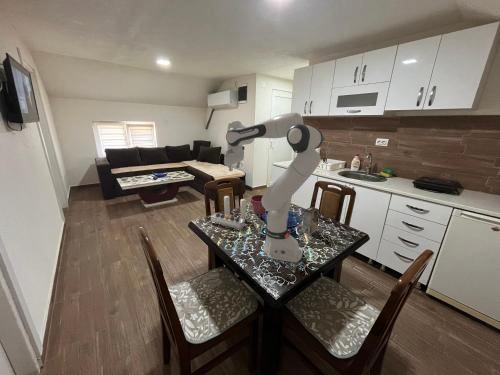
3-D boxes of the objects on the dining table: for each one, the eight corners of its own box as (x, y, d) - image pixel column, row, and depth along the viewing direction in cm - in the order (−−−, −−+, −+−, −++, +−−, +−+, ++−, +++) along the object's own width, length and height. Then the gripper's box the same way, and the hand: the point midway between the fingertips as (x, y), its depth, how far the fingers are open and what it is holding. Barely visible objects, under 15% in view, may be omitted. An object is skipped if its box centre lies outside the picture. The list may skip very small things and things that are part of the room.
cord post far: (231, 215, 164) (230, 196, 159) (228, 217, 161) (227, 198, 155) (226, 214, 166) (225, 195, 161) (223, 216, 162) (222, 197, 157)
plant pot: (256, 217, 161) (256, 202, 157) (247, 211, 172) (247, 196, 168) (271, 214, 167) (272, 199, 163) (262, 207, 179) (262, 193, 175)
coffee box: (309, 227, 148) (311, 206, 143) (317, 230, 143) (319, 209, 138) (301, 231, 142) (303, 209, 137) (309, 235, 137) (312, 213, 132)
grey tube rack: (245, 225, 149) (245, 217, 147) (240, 230, 143) (240, 221, 140) (216, 218, 160) (215, 210, 157) (210, 222, 153) (209, 214, 151)
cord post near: (247, 219, 159) (247, 199, 154) (244, 221, 155) (244, 201, 150) (242, 217, 160) (241, 198, 155) (239, 220, 157) (239, 200, 152)
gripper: (230, 151, 122) (230, 173, 126) (245, 146, 139) (245, 167, 144) (221, 150, 124) (221, 172, 129) (237, 145, 142) (237, 165, 146)
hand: (234, 169), depth 137 cm, fingers open, 8 cm apart
